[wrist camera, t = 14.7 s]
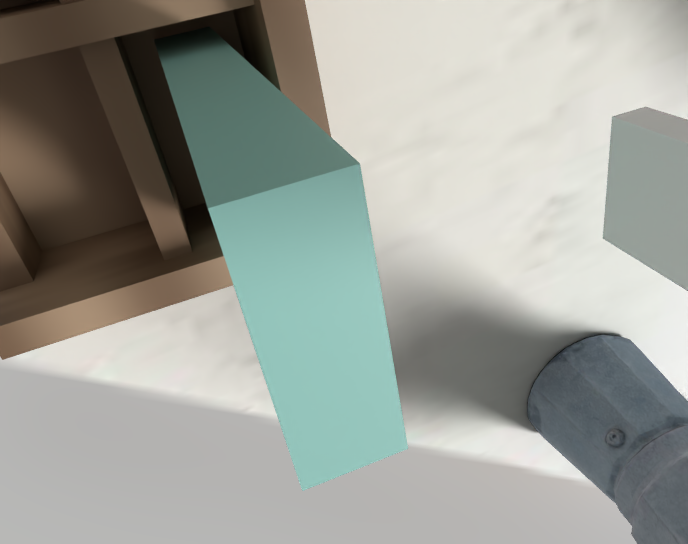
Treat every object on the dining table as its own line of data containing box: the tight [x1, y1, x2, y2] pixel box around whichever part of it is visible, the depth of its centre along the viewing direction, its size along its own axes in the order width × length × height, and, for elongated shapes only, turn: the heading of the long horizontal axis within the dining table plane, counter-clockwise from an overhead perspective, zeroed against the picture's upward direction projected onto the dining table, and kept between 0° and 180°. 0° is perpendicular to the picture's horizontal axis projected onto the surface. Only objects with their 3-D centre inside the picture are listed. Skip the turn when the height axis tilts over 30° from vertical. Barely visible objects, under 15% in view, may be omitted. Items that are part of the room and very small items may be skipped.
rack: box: [0, 0, 331, 360], centre depth 17 cm, size 12×18×8 cm, turn 11°
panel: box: [154, 27, 408, 491], centre depth 15 cm, size 2×6×16 cm, turn 10°
